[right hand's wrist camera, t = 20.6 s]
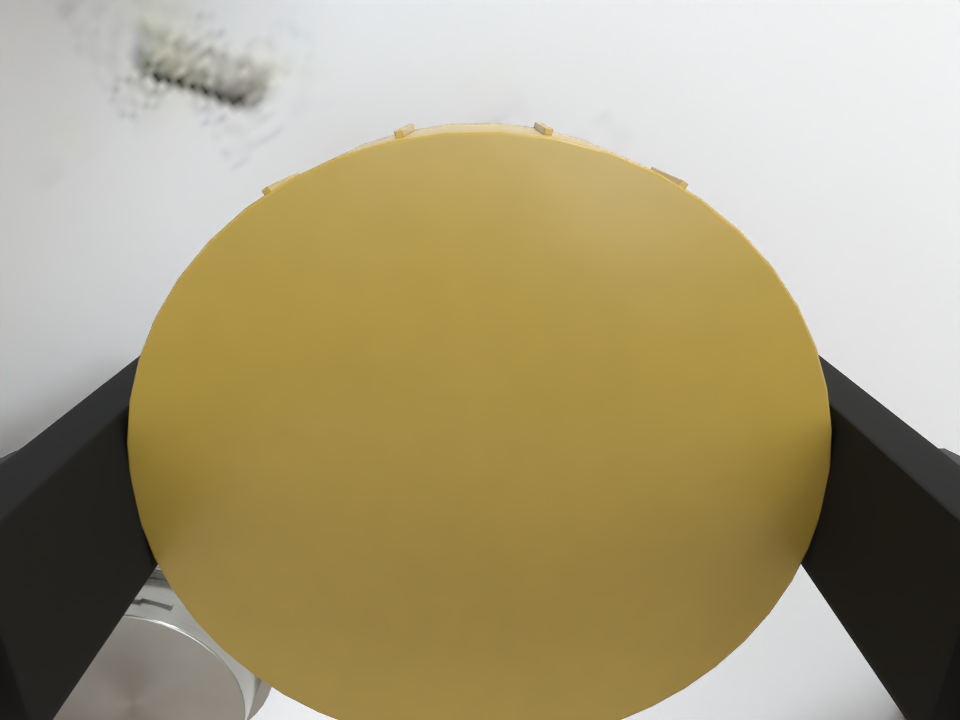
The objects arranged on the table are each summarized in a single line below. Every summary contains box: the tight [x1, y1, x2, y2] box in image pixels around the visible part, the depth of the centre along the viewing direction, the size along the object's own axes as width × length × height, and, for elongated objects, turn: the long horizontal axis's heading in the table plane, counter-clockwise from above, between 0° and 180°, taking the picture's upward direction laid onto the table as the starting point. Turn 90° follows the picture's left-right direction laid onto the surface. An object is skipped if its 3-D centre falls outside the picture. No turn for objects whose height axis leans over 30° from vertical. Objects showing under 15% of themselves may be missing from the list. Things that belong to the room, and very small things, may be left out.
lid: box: [127, 122, 832, 720], centre depth 11 cm, size 10×10×2 cm
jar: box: [53, 565, 272, 720], centre depth 32 cm, size 9×9×15 cm
